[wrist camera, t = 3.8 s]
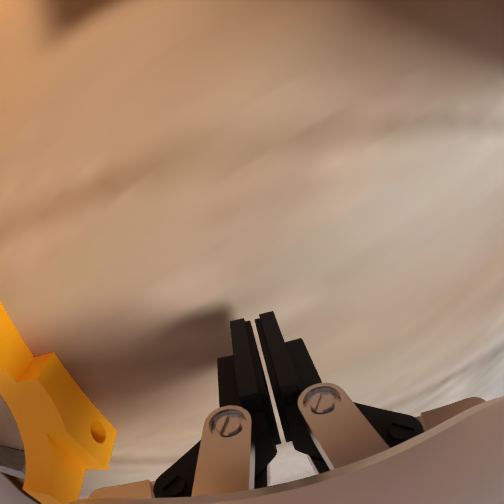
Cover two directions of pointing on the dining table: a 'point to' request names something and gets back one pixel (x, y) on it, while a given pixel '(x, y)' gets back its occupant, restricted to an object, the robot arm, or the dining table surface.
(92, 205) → the dining table surface
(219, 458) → the robot arm
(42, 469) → the pipe clamp
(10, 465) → the bracket
